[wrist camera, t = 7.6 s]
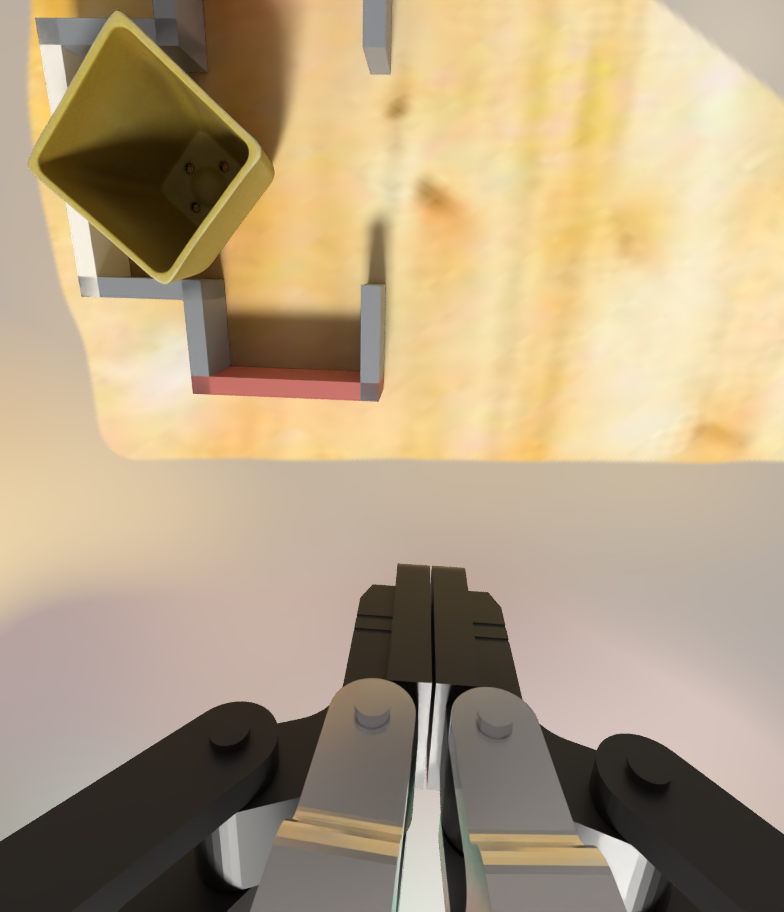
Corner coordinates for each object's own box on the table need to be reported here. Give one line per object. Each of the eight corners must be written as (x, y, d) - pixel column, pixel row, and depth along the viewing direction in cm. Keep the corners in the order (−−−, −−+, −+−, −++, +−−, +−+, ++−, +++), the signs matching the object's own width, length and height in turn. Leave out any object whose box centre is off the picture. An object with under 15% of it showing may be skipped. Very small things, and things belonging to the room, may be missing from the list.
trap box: (63, -79, 30) (10, -130, 26) (393, -80, 29) (388, -133, 25) (129, 378, 39) (96, 389, 35) (383, 388, 38) (378, 401, 34)
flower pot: (196, 73, 32) (113, 1, 23) (305, 179, 33) (264, 148, 25) (121, 191, 34) (21, 165, 26) (226, 285, 36) (164, 289, 27)
